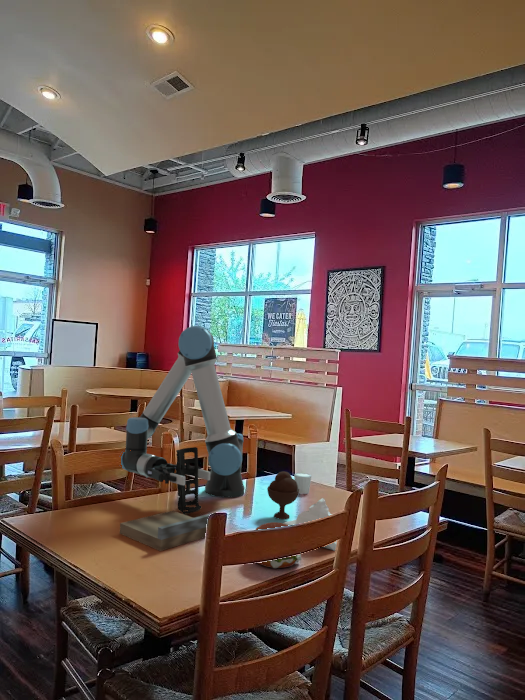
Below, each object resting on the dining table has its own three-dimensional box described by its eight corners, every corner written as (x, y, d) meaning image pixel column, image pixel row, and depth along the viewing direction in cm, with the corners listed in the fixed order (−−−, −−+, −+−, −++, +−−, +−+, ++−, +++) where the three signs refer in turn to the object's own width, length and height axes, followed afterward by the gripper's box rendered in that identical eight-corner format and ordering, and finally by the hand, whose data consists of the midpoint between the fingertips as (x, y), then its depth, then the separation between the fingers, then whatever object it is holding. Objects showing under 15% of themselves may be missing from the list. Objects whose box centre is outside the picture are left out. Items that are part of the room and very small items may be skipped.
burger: (250, 550, 154) (253, 514, 154) (299, 554, 153) (302, 518, 153) (247, 569, 140) (250, 530, 140) (301, 574, 140) (304, 534, 140)
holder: (194, 515, 175) (192, 451, 176) (171, 514, 177) (169, 451, 177) (205, 506, 186) (202, 446, 187) (183, 506, 187) (181, 446, 188)
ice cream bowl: (258, 515, 186) (261, 471, 186) (280, 510, 195) (283, 467, 195) (282, 524, 179) (285, 477, 179) (304, 517, 187) (307, 473, 187)
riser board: (172, 520, 176) (173, 501, 176) (212, 535, 164) (214, 514, 164) (119, 533, 160) (120, 512, 160) (160, 551, 149) (161, 528, 149)
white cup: (311, 495, 218) (312, 477, 218) (293, 493, 219) (294, 476, 219) (309, 490, 225) (310, 473, 225) (292, 489, 225) (294, 472, 225)
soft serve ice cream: (300, 537, 172) (312, 492, 174) (343, 555, 163) (355, 507, 165) (279, 537, 162) (293, 488, 164) (324, 555, 153) (337, 504, 155)
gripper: (177, 472, 202) (221, 484, 188) (125, 482, 184) (169, 496, 170) (178, 452, 202) (222, 462, 188) (126, 459, 184) (170, 471, 170)
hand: (197, 478), depth 179 cm, fingers closed on holder, 10 cm apart
